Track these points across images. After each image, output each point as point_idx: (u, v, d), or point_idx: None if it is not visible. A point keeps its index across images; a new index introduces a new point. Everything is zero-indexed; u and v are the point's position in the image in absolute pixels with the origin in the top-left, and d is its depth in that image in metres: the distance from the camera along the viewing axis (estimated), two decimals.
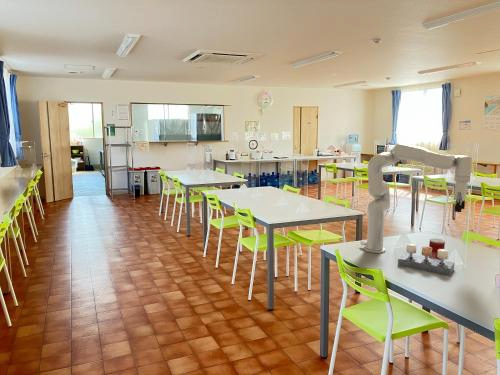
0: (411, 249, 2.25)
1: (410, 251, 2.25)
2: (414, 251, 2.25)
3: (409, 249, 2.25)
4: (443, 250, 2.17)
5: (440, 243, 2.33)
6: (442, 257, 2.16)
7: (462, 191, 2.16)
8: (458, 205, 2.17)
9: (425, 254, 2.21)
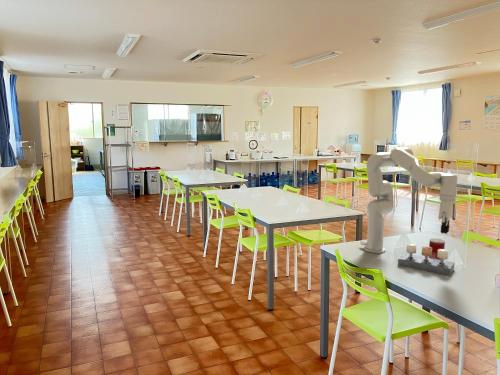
0: (411, 249, 2.25)
1: (410, 251, 2.25)
2: (414, 251, 2.25)
3: (409, 249, 2.25)
4: (443, 250, 2.17)
5: (440, 243, 2.33)
6: (442, 257, 2.16)
7: (447, 211, 2.09)
8: (444, 226, 2.13)
9: (425, 254, 2.21)
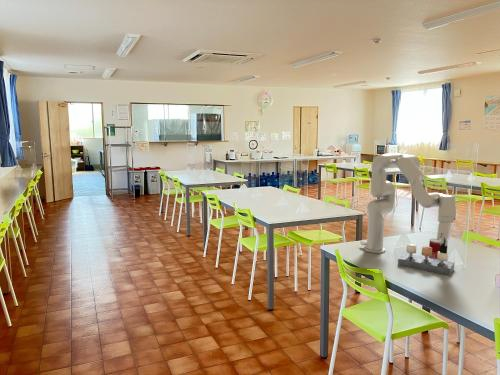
0: (411, 249, 2.25)
1: (410, 251, 2.25)
2: (414, 251, 2.25)
3: (409, 249, 2.25)
4: None
5: None
6: (442, 259, 2.16)
7: (445, 232, 2.11)
8: (443, 246, 2.16)
9: (425, 254, 2.21)
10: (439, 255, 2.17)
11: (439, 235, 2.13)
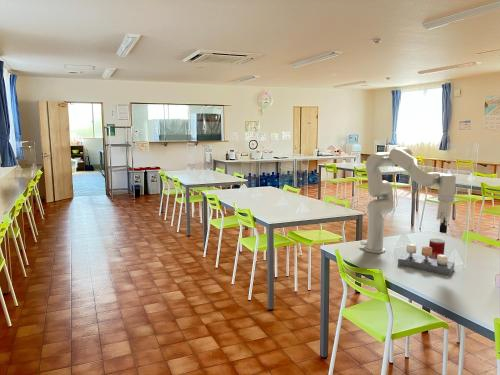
0: (411, 249, 2.25)
1: (410, 251, 2.25)
2: (414, 251, 2.25)
3: (409, 249, 2.25)
4: (443, 255, 2.18)
5: (440, 243, 2.33)
6: (442, 263, 2.16)
7: (445, 211, 2.10)
8: (443, 226, 2.14)
9: (425, 254, 2.21)
10: (439, 258, 2.17)
11: (439, 214, 2.12)
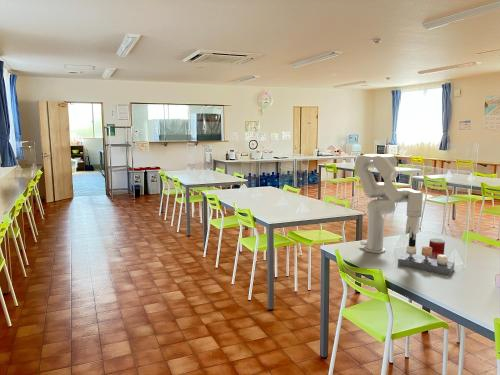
0: (411, 250, 2.25)
1: (410, 252, 2.25)
2: (414, 252, 2.25)
3: (409, 250, 2.25)
4: (443, 255, 2.18)
5: (440, 243, 2.33)
6: (442, 263, 2.16)
7: (413, 226, 2.20)
8: (412, 240, 2.25)
9: (425, 254, 2.21)
10: (439, 258, 2.17)
11: (407, 229, 2.22)
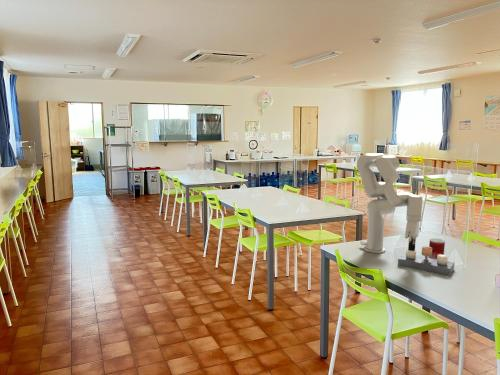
0: (411, 254, 2.25)
1: (410, 256, 2.26)
2: (414, 256, 2.25)
3: (409, 254, 2.26)
4: (443, 255, 2.18)
5: (440, 243, 2.33)
6: (442, 263, 2.16)
7: (413, 230, 2.21)
8: (411, 244, 2.25)
9: (425, 254, 2.21)
10: (439, 258, 2.17)
11: (407, 233, 2.22)
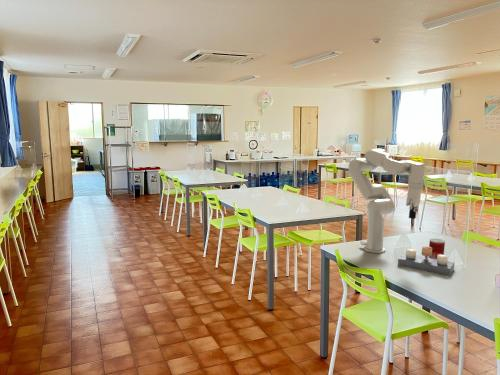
0: (411, 254, 2.25)
1: (410, 256, 2.26)
2: (414, 256, 2.25)
3: (409, 254, 2.26)
4: (443, 255, 2.18)
5: (440, 243, 2.33)
6: (442, 263, 2.16)
7: (414, 198, 2.21)
8: (412, 212, 2.25)
9: (425, 254, 2.21)
10: (439, 258, 2.17)
11: (408, 201, 2.22)
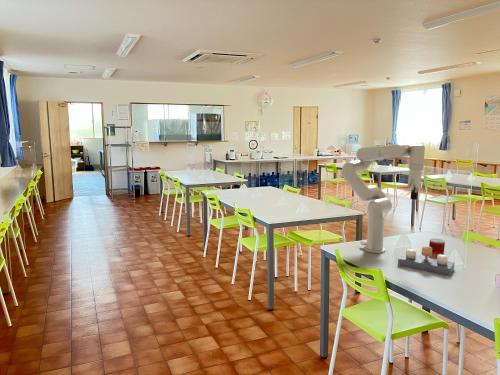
0: (411, 254, 2.25)
1: (410, 256, 2.26)
2: (414, 256, 2.25)
3: (409, 254, 2.26)
4: (443, 255, 2.18)
5: (440, 243, 2.33)
6: (442, 263, 2.16)
7: (415, 178, 2.26)
8: (413, 193, 2.30)
9: (425, 254, 2.21)
10: (439, 258, 2.17)
11: (409, 182, 2.28)
